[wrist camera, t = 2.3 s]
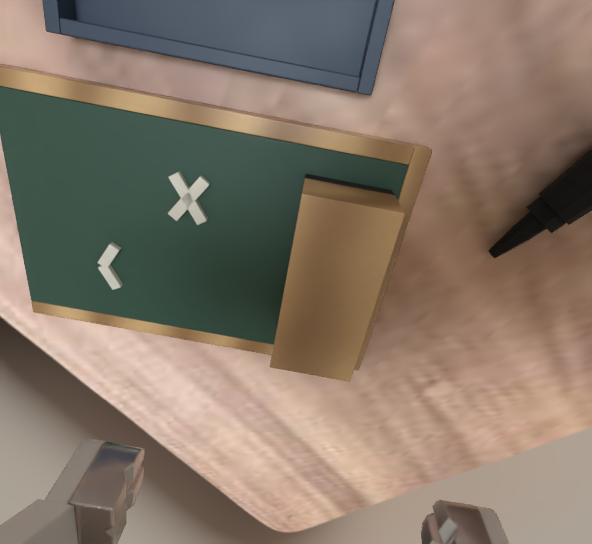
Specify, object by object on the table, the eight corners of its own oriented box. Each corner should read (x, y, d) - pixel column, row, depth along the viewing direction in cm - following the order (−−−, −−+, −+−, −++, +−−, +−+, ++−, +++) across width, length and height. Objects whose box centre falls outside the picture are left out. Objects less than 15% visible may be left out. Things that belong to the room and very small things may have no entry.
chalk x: (211, 176, 22) (209, 178, 22) (208, 224, 23) (206, 226, 23) (170, 168, 22) (168, 170, 22) (169, 217, 23) (167, 219, 23)
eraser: (392, 189, 22) (405, 213, 18) (346, 341, 27) (350, 382, 23) (305, 173, 22) (302, 193, 18) (276, 328, 27) (269, 367, 23)
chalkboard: (428, 146, 21) (432, 150, 21) (357, 361, 29) (358, 371, 28) (0, 63, 21) (-14, 63, 20) (42, 304, 28) (33, 312, 28)
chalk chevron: (121, 243, 24) (118, 245, 24) (123, 288, 26) (121, 291, 26) (98, 238, 24) (95, 241, 24) (102, 284, 26) (99, 287, 26)
